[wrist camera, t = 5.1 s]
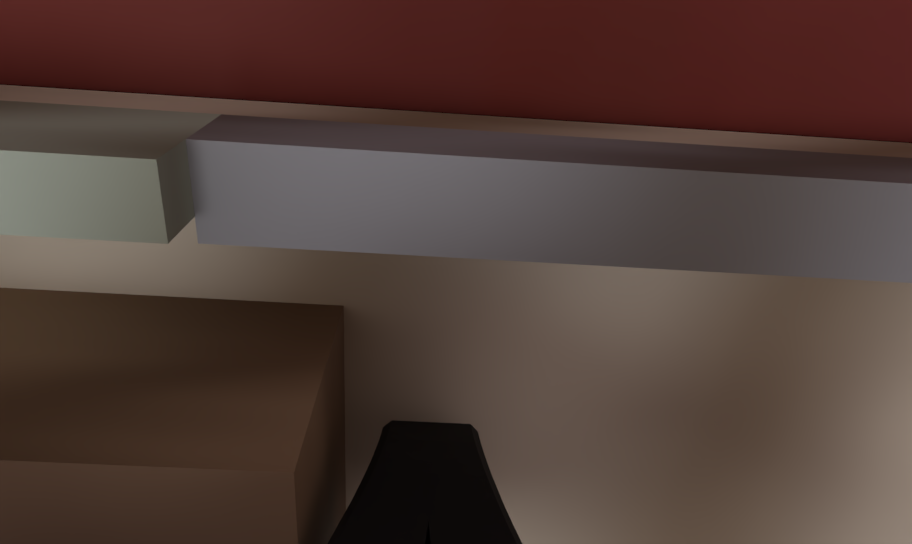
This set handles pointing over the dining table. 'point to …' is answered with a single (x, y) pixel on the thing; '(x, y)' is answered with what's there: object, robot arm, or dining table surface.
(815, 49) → the dining table surface
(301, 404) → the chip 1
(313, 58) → the dining table surface
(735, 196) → the slot board
